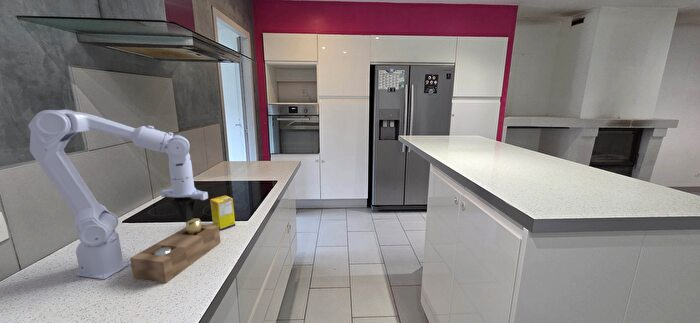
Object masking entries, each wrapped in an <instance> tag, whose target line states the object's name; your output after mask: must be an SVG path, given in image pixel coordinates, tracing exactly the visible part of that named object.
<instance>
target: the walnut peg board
mask: <svg viewBox="0 0 700 323" xmlns="http://www.w3.org/2000/svg"><path fill="white" fill-rule="evenodd" d="M201 230H202V232H200V233H199V234H197V235H187V228H186V226H185V227H183V228H182V229H180V230H178V231H176V232H174V233H173V234H170V235H169V236H167V237H166V238H164V239H162V240H160V241H158V242H157V243H154V244H152V245H151V246H149V247H148V248H146V249H144V250H142V251H140V252H139V253H137V254H135V255H132V256H131V257H130V258H129V259H130V260H129V261H130V262H131V264H130V266H131V271H132V276H133V279H134V280H139V281H140V280H141V281H148V282H155V283H162V284H167V283H168V282H170V281H171V280H173V279H174V278H175V277H177V276H178V275H179V274H181V273H182V272H183V271H185V270H186V269H187V268H188V267H190V266H191V265H193V264H194V263H196V262H197V261H198V260H200V259H201V258H202V257H204V256H205V255H206V254H207V253H210V251H212V250H213V249H215V247H217V246H218V245H220V244H221V234H220V230H219V226H214V225H213V224H212V225H211V224H201ZM164 247H170V248H171V251H170V252H168V253H167V254H165V255H163V256H159V255H154V252H155V251H156V250H158V249H160V248H164Z"/></svg>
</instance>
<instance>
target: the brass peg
mask: <svg viewBox="0 0 700 323" xmlns="http://www.w3.org/2000/svg"><path fill="white" fill-rule="evenodd" d="M201 223H202V222H201V219H200V218H198V217H197V218H194V217H193V218H192V220H190V221H188V222H185V227H186V228H187V235H197V234H199V233H200V232H202V230H201Z"/></svg>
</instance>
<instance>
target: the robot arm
mask: <svg viewBox="0 0 700 323" xmlns="http://www.w3.org/2000/svg"><path fill="white" fill-rule="evenodd" d="M27 126H28V128H29V130H30V139H29V141H30V142H29V152H30V154H31V155H32V156H33V158H34V159H35V161H36V162H37V163H38V165H39V166H40V168H41V170H42V171H43V173H45V175H46V176H47V179H49V181H50V182H51V183H52V185H53V186H54V188H55V189H56V190H57V192H58V193H59V195H60V197H61V198H62V199H63V201H64V202H65V203H66V204H67V206H68V207H69V209H70V211H71V212H72V213H73V216H74V220H73V222H74V224H73V225H74V226H75V228H76V230H77V238H78V240H79V241H80V243H79V244H78V245H77V246H76V250H75V255H76V259H77V264H78V269H79V271H78V272H77V273H76V276H79V277H84V278H86V277H87V278H91V279H93V278H94V279H98V280H100V279H101V280H105V279H107V278H109V277H110V276H112V275H114V274H116V273H118V272H120V271H121V270H123V269H125V268H126V267H129V266H131V260H124V258H123V253H122V246H121V242H120V237H119V233H118V232H117V231H116V228H117V227H118V226H119V218H118V216H117V215H116V214H115V213H113V212H111V211H109V209H107V207H106V206H105V205H103V204H101V203H99V202H98V200H97V198H96V197H95V196H94V194H93V192H92V191H91V190H90V188H89V187H88V185H87V184H86V181H85V180H84V179H83V178H82V176H81V174H80V173H79V171H78V170H77V168H76V167H75V165H74V164H73V162H72V161H71V160H70V157H68V156H69V155H67V153H66V152H65V148H66V146H67V145H68V143H69V141H70V140H71V138H72V137H73V136H75V135H77V134H78V133H83V132H91V131H94V132H98V133H102V134H107V135H111V136H114V137H118V138H123V139H127V140H131V142H132V143H133V144H134V146H136V147H138V148H139V147H140V148H143V149H146V150H150V151H155V152H159V153H162V154H163V153H166V155H167V158H168V168H169V170H168V171H169V177H170V184H171V188H170V189H169V188H167V189H163V190H160V196H161V198H174V199H173V200H171V204H172V205H173V206H174V208H175V209H176V210H177V212H178V213H179V214H180V217H181V220H182V221H183V223H186V222H188V221H190V220H192V219H193V214H194V210H195V206H196V204H197V202H198V200H200V201H205V200H207V199H209V194H208V191H202V190H199V189H197V188H196V187H195V180H194V172H193V165H192V160H191V154H190V142H189V140H188V139H187V138H186V137H184V136H182V135H180V134H174V133H173V132H171V131H169V132H165V131H162V130H158V129H156V128H155V127H154V126H152V125H149V124H148V125H147V126H145V125H142V126H139V127H137V128H135V127H132V126H129V125H126V124H123V123H120V122H116V121H114V120H110V119H107V118H104V117H100V116H98V115H94V114H91V113H87V112H81V111H74V110H72V109H66V108H64V109H58V110H57V109H56V110H54V109H46V110H45V109H44V110H41V111H39V112H37V114H35V115H34V116H33V118H32V119H31V121H30V122H29V123H28V125H27Z"/></svg>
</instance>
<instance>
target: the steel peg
mask: <svg viewBox="0 0 700 323" xmlns="http://www.w3.org/2000/svg"><path fill="white" fill-rule="evenodd" d="M170 251H171V248H170V247H164V248H160V249H158V250H156V251H155V252H154V255H159V256H163V255H165V254H167V253H168V252H170Z"/></svg>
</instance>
